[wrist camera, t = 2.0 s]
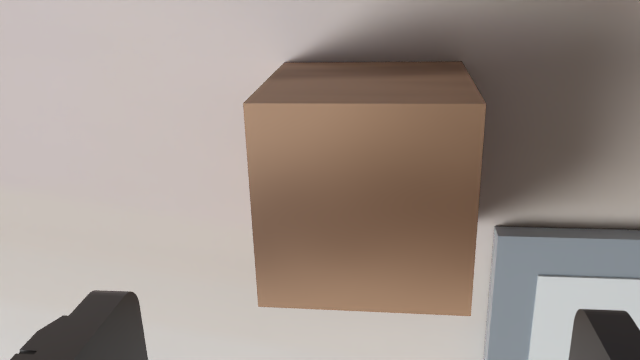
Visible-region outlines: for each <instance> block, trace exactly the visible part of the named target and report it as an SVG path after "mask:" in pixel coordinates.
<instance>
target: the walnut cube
mask: <svg viewBox="0 0 640 360" xmlns="http://www.w3.org/2000/svg"><path fill="white" fill-rule="evenodd" d="M243 108H244V121H245V135H246V148H247V161H248V175H249V188H250V201H251V215H252V228H253V242H254V255H255V268H256V282H257V295H258V307H278V308H301V309H323V310H345V311H368V312H390V313H413V314H435V315H457V316H471V304H472V290H473V277H474V263H475V249H476V236H477V222H478V208H479V195H480V181H481V167H482V154H483V140H484V126H485V113H486V103H485V101H484V99H483V97H482V96H481V94H480V92H479V91H478V89H477V87H476V85H475V84H474V82H473V80H472V78H471V77H470V75H469V73H468V71H467V70H466V68H465V66H464V64H463V63H462V61H454V62H309V63H284V64H283V65H281V66H280V67H279V68H278V69H277V70H276V71H275V72H274V73H273V74H272V75H271V76H270V77H269V78H268V79H267V80H266V81H265V82H264V83H263V84H262V85H261V86H260V87H259V88H258V89H257V90H256V91H255V92H254V93H253V94H252V95H251V96H250V97H249V98H248V99H247V100H246V101H245V102H244V103H243Z"/></svg>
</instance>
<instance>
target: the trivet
mask: <svg viewBox="0 0 640 360" xmlns="http://www.w3.org/2000/svg"><path fill="white" fill-rule="evenodd" d="M579 309H596V310H624V311H626V312H628V313H629V315H630V316H631V318H632V319H633V321H634V322H635V324H636V325H637V327H638V328H639V330H640V230H619V229H579V228H538V227H498V226H495V228H494V240H493V252H492V264H491V276H490V288H489V300H488V312H487V324H486V336H485V348H484V360H569V352H570V345H571V338H572V330H573V323H574V318H575V314H576V312H577V311H578V310H579Z"/></svg>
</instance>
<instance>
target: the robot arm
mask: <svg viewBox="0 0 640 360" xmlns="http://www.w3.org/2000/svg"><path fill="white" fill-rule="evenodd" d="M10 360H148V357H147V351H146V344H145V338H144V331H143V325H142V318H141V312H140V305H139V301H138V298H137V296H136V294H135V293H133V292H125V291H97V290H95V291H92V292H90V293H89V294H88V295H87V296H86V298H85V299H84V300H83V301H82V302H81V303H80V304H79V305H78V306H77V307H76V309H75V310H74V311H73V312H72V313H71V314H70V315H69V316H62V317H60V318H58V319H57V320H55V321H53V322H52V323H50V324H49V325H47V326H45V327H44V328H42V329H40V330H39V331H37V332H36V333H35V334H34V335H33V336H32V338H31V339H30V340H29V341H28V342H27V343H26V344H25V345H24V346H23V347H22V348H21V349H20V353H19V354H15V355H14V356H13V357H12V358H11V359H10ZM569 360H640V330H639V328H638V327H637V325H636V324H635V322H634V321H633V319H632V318H631V316H630V315H629V313H628V312H626V311H624V310H596V309H579V310H578V311H577V312H576V314H575V318H574V323H573V330H572V338H571V345H570V352H569Z"/></svg>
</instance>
